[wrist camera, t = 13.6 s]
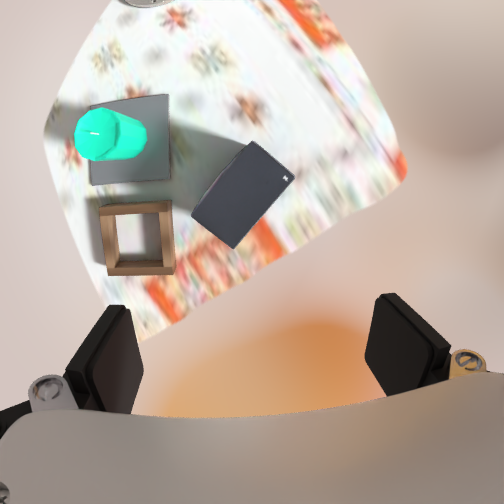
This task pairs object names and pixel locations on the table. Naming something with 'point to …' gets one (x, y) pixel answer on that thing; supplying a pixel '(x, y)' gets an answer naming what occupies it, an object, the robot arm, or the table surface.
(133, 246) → the table surface
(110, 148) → the candle
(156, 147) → the slate mat
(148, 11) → the table surface
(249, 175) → the small box
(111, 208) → the holder
